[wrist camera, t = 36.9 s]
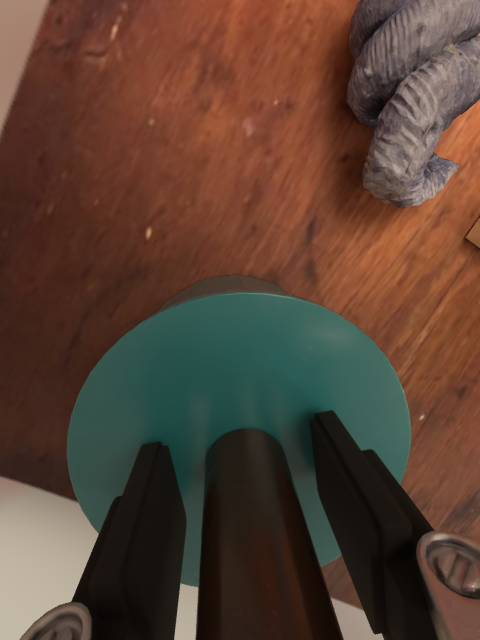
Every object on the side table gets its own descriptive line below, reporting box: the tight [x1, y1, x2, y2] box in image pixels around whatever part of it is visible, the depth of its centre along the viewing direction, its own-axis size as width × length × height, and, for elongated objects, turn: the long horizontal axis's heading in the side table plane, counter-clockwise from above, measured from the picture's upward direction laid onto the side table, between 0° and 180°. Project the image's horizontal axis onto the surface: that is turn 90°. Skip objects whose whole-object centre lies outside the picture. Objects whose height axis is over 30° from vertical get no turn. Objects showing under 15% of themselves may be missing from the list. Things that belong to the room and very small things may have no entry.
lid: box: [67, 289, 411, 640], centre depth 8 cm, size 11×11×7 cm
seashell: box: [346, 0, 480, 208], centre depth 12 cm, size 5×5×10 cm
